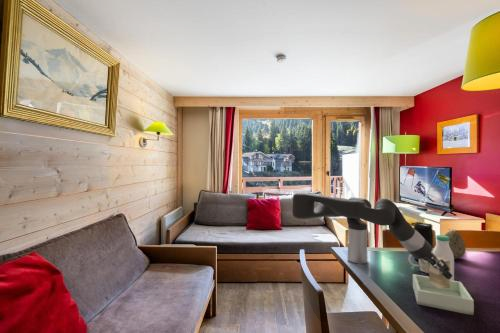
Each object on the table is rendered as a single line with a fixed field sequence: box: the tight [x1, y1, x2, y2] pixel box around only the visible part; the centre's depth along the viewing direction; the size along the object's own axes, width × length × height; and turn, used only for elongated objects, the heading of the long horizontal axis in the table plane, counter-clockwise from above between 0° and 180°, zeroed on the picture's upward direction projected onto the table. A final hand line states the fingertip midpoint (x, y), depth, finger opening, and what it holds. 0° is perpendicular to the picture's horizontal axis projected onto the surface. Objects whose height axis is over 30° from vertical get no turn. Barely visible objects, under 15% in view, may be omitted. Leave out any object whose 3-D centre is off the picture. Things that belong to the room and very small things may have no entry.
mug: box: [407, 248, 434, 274], centre depth 125 cm, size 8×13×10 cm, turn 78°
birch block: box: [428, 257, 450, 288], centre depth 98 cm, size 4×4×10 cm
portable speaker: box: [413, 221, 434, 261], centre depth 139 cm, size 9×9×20 cm
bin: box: [412, 273, 475, 316], centre depth 99 cm, size 16×16×5 cm
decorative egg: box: [444, 230, 467, 260], centre depth 142 cm, size 11×11×15 cm
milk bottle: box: [433, 234, 455, 281], centre depth 113 cm, size 8×8×20 cm
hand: (444, 274), depth 98 cm, fingers closed on birch block, 4 cm apart
